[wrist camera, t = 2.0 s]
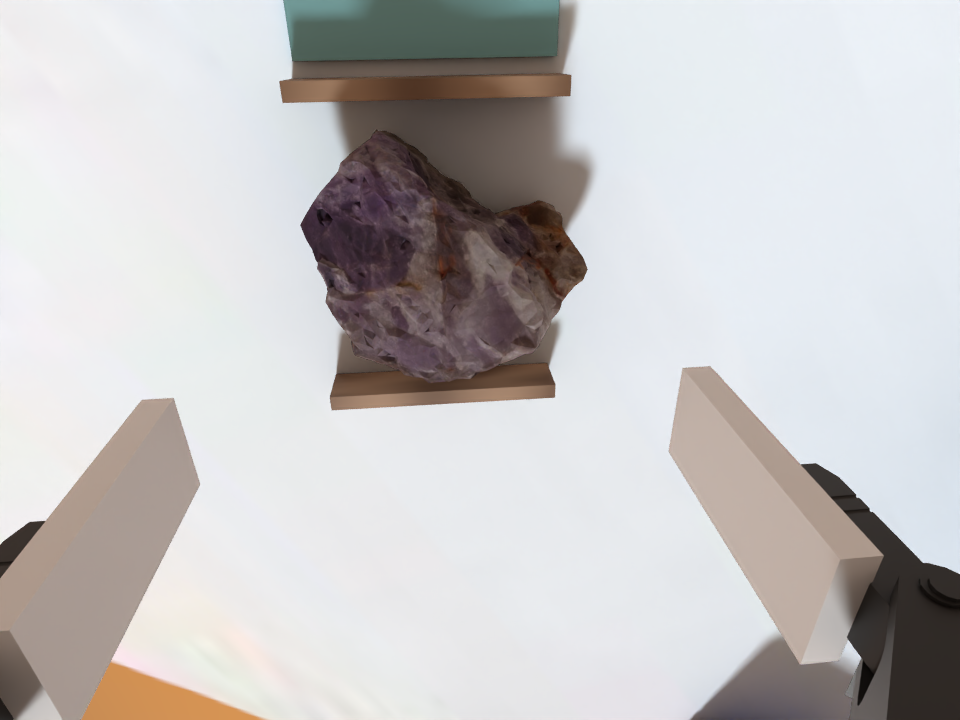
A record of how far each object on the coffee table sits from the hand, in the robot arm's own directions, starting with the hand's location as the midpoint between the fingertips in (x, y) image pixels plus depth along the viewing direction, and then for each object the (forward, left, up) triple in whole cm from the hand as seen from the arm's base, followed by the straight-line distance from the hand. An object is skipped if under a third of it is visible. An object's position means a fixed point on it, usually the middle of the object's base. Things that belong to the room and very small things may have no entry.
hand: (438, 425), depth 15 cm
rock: (0, 0, -17) cm, 17 cm away
